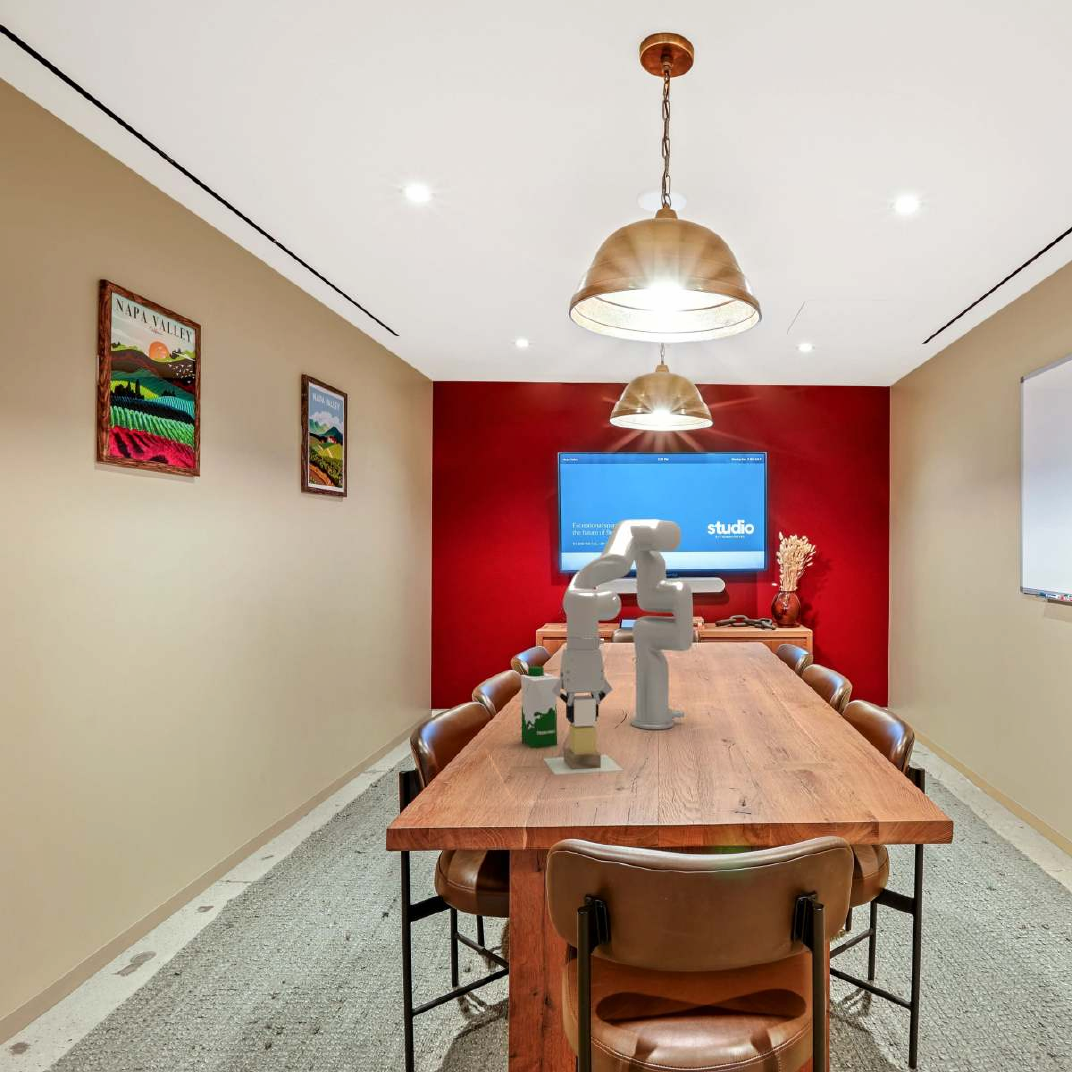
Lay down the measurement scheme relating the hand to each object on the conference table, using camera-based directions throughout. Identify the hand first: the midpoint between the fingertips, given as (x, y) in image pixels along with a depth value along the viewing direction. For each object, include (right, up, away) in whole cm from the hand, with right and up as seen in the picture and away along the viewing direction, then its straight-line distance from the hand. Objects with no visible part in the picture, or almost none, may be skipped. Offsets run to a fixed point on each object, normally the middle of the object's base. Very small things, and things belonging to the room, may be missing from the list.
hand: (582, 720), depth 163 cm
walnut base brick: (0, -10, 0) cm, 10 cm away
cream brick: (0, -1, 0) cm, 1 cm away
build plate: (0, -11, 0) cm, 11 cm away
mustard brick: (0, -7, 0) cm, 7 cm away
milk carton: (-10, -11, +17) cm, 23 cm away
